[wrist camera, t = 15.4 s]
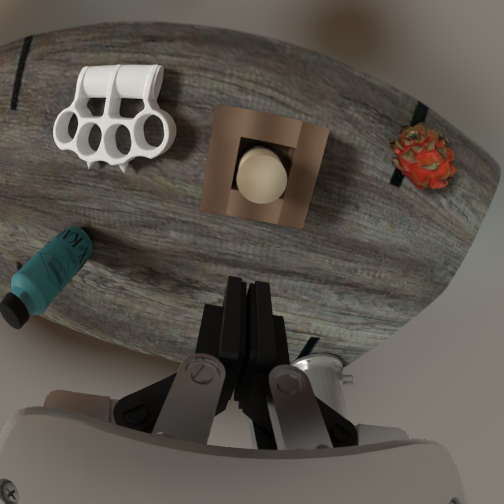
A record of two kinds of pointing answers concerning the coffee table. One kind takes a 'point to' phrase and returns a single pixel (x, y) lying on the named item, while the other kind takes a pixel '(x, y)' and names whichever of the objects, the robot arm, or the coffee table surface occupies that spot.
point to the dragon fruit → (423, 156)
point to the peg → (261, 174)
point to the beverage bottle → (45, 276)
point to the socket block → (285, 146)
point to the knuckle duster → (114, 113)
